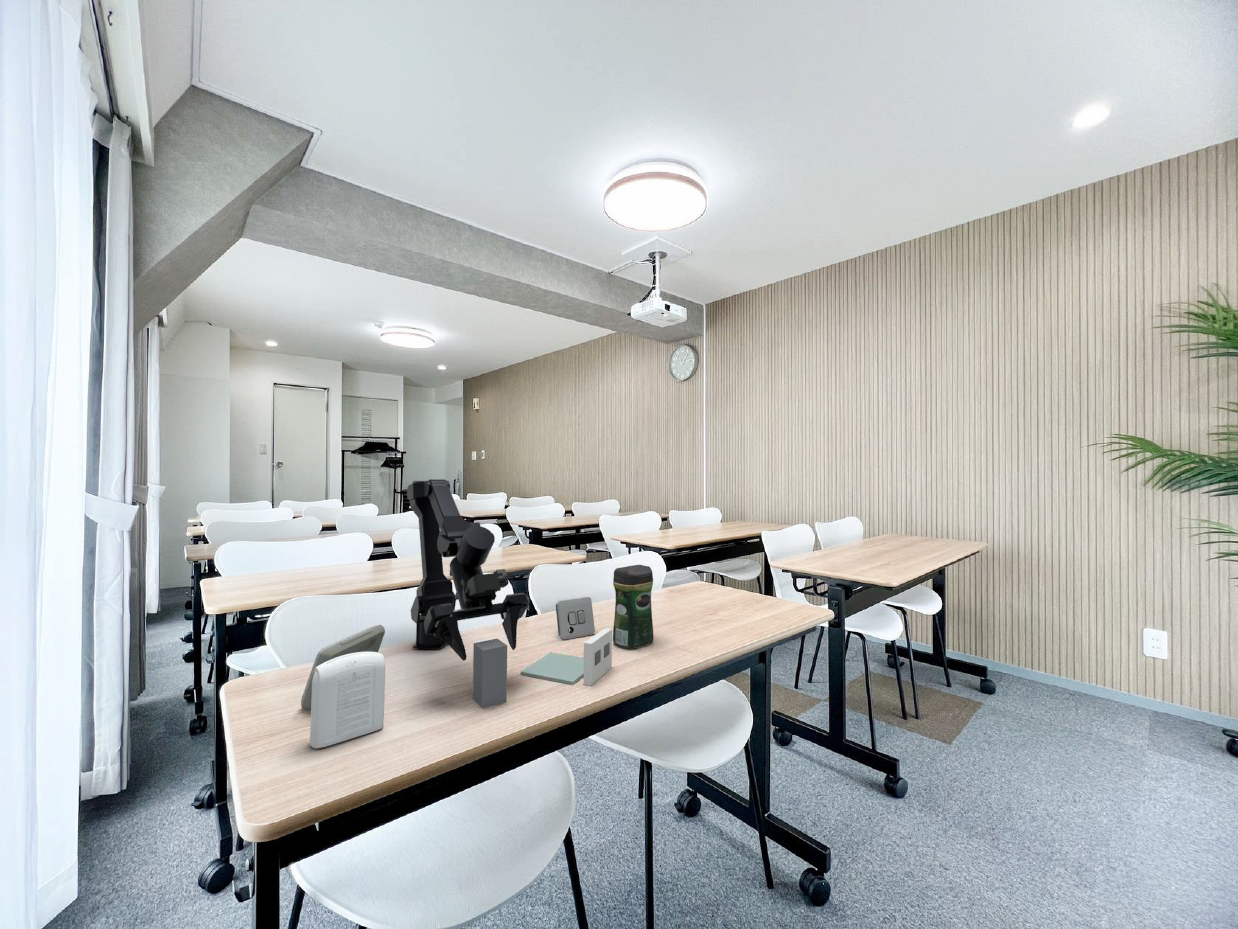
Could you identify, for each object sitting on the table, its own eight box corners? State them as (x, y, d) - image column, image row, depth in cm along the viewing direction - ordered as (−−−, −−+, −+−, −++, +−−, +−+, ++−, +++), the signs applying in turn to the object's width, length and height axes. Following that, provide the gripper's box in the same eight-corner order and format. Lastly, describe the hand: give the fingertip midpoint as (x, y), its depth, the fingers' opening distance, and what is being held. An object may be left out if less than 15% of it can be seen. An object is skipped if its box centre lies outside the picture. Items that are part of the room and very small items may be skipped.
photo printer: (378, 719, 82) (380, 643, 82) (388, 729, 79) (389, 650, 79) (306, 742, 75) (308, 659, 75) (313, 753, 72) (315, 667, 72)
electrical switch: (561, 641, 121) (560, 602, 122) (553, 637, 125) (552, 599, 126) (595, 635, 126) (594, 597, 127) (586, 631, 130) (585, 595, 131)
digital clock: (366, 673, 101) (367, 620, 101) (400, 681, 97) (401, 626, 97) (286, 708, 86) (287, 646, 86) (322, 719, 82) (324, 653, 82)
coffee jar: (636, 635, 126) (637, 561, 126) (658, 643, 120) (659, 566, 120) (606, 643, 120) (607, 565, 120) (628, 652, 114) (629, 570, 114)
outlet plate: (582, 684, 96) (583, 642, 97) (604, 666, 106) (604, 628, 106) (591, 686, 96) (592, 644, 96) (612, 667, 105) (612, 629, 105)
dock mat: (520, 674, 101) (520, 671, 101) (550, 655, 112) (550, 652, 112) (573, 685, 96) (573, 681, 96) (599, 663, 107) (599, 660, 107)
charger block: (472, 699, 90) (473, 643, 90) (496, 692, 92) (497, 638, 93) (482, 709, 86) (482, 650, 86) (506, 702, 89) (507, 645, 89)
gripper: (429, 560, 88) (448, 640, 79) (525, 551, 99) (552, 620, 90) (416, 596, 95) (433, 674, 85) (509, 584, 106) (532, 652, 96)
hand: (490, 654), depth 89 cm, fingers open, 9 cm apart
